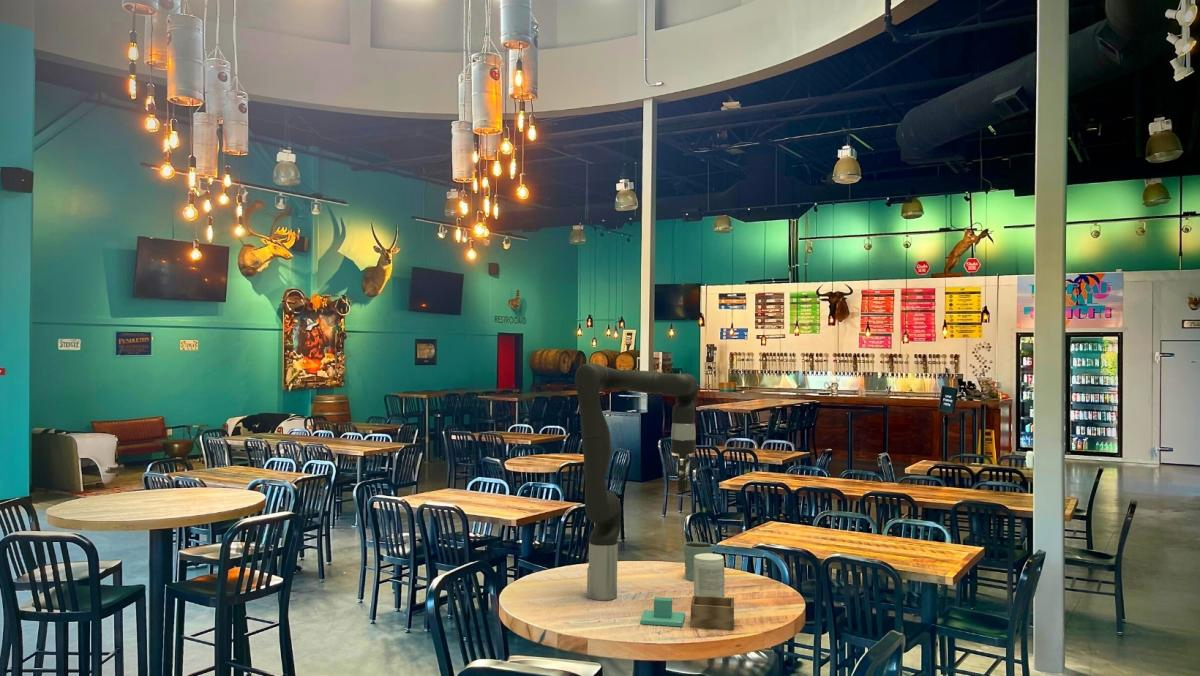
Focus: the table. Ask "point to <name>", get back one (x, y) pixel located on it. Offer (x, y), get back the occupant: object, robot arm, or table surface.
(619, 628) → the table surface
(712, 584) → the supplement tub
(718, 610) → the crate
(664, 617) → the lid
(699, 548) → the grey green pot
